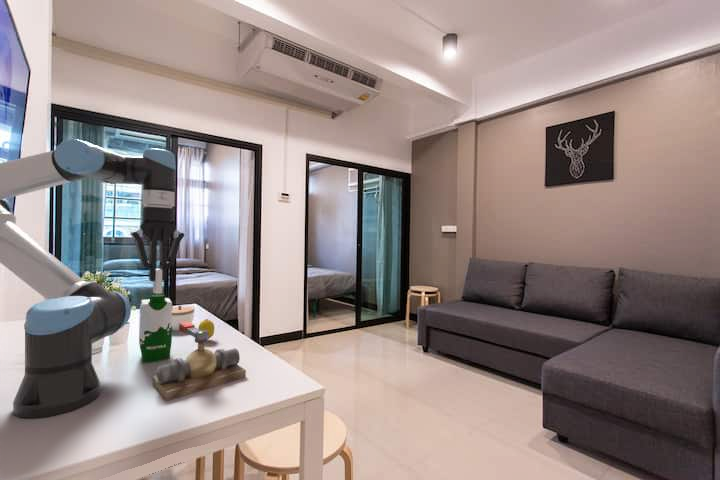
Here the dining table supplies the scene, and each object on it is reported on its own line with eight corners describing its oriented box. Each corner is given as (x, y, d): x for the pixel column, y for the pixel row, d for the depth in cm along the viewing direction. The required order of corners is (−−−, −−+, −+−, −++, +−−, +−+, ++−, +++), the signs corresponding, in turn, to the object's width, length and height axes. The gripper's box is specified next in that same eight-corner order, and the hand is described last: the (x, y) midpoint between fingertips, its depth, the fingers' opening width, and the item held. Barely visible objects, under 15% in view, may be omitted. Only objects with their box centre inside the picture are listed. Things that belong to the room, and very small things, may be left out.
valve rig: (166, 400, 81) (167, 357, 80) (152, 383, 89) (152, 344, 89) (245, 376, 95) (246, 339, 95) (226, 364, 103) (227, 330, 103)
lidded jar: (167, 325, 142) (168, 303, 142) (196, 324, 145) (196, 302, 145) (161, 333, 132) (161, 309, 131) (191, 331, 135) (192, 308, 135)
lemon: (196, 343, 121) (196, 321, 121) (199, 338, 126) (199, 317, 126) (212, 342, 122) (213, 320, 122) (215, 337, 128) (215, 316, 128)
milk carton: (139, 364, 101) (141, 298, 101) (138, 355, 108) (139, 292, 108) (173, 358, 106) (174, 295, 106) (169, 350, 114) (170, 290, 113)
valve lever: (209, 341, 92) (209, 332, 92) (197, 343, 90) (197, 334, 90) (189, 328, 102) (189, 320, 102) (177, 330, 100) (178, 322, 100)
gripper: (134, 204, 86) (133, 297, 86) (189, 208, 95) (187, 292, 96) (127, 205, 91) (126, 293, 91) (179, 209, 100) (178, 288, 101)
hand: (157, 292), depth 93 cm, fingers closed
